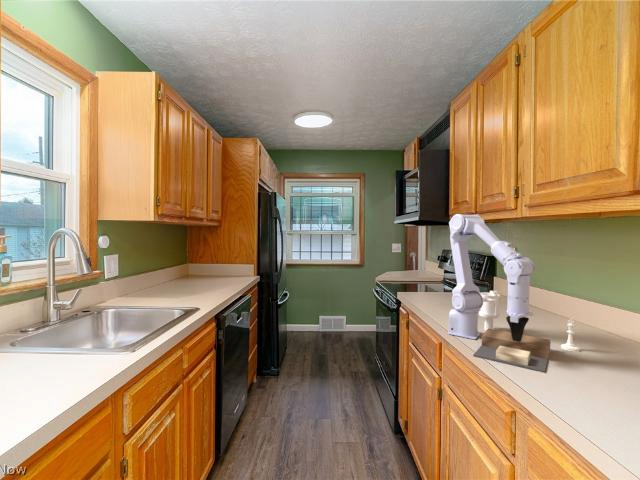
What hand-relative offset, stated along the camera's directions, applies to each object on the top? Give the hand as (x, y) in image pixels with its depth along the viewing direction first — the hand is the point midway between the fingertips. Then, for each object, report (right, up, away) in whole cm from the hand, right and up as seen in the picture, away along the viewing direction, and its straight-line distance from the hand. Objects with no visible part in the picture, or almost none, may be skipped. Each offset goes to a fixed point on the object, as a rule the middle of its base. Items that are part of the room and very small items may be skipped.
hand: (516, 340), depth 101 cm
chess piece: (+20, -5, +5) cm, 21 cm away
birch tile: (-4, -2, -5) cm, 6 cm away
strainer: (+4, -4, +24) cm, 25 cm away
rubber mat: (-4, -4, -3) cm, 7 cm away
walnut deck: (+3, -4, +5) cm, 7 cm away
